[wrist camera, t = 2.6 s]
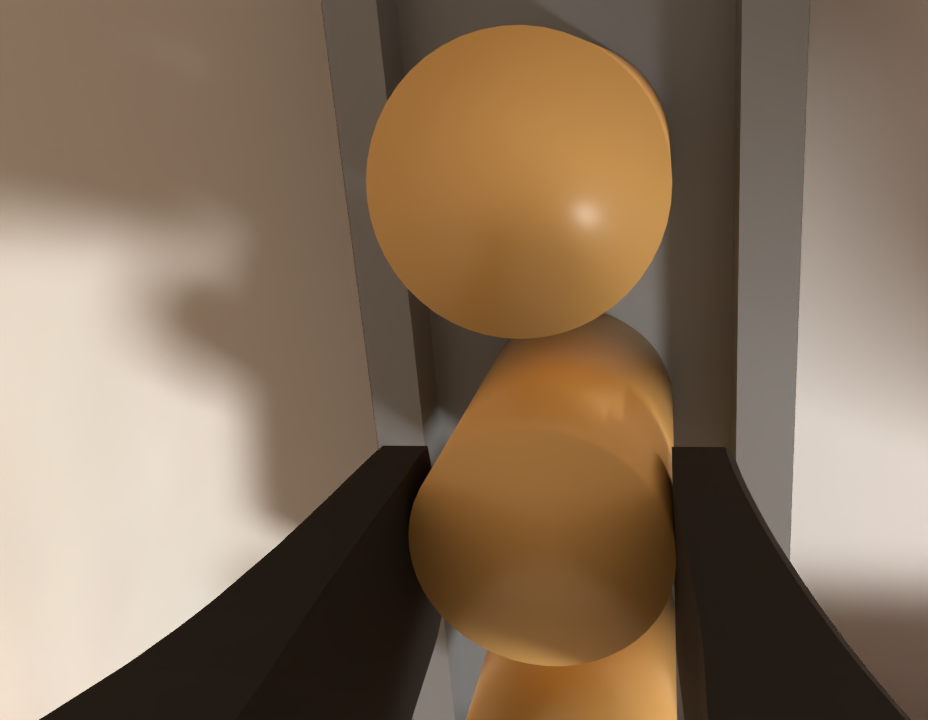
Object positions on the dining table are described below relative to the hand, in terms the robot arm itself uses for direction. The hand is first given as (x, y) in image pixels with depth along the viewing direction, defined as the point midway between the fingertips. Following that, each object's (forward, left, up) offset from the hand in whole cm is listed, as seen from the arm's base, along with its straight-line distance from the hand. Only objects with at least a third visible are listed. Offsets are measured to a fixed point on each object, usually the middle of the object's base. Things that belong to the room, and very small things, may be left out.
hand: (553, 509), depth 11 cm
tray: (0, 0, -4) cm, 4 cm away
